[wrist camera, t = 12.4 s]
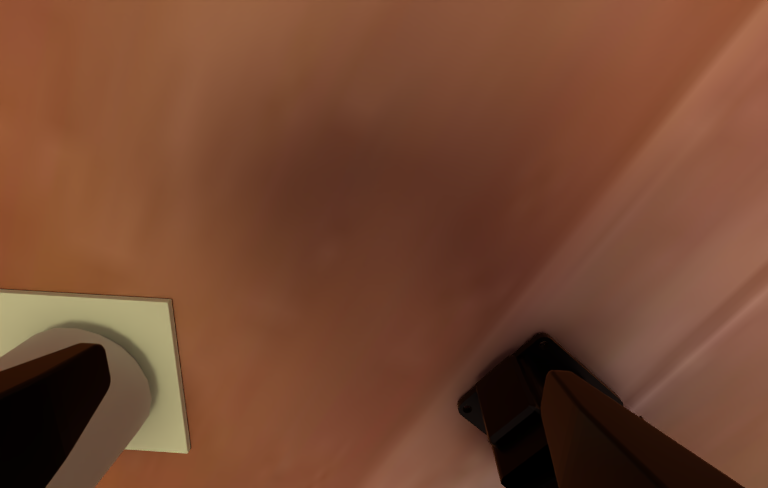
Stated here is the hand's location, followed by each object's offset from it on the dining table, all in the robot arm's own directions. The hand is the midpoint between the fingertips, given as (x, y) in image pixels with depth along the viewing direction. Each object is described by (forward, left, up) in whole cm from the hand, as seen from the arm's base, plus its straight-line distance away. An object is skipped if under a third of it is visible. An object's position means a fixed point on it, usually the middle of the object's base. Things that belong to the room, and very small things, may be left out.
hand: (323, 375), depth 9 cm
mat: (+5, +18, -13) cm, 23 cm away
